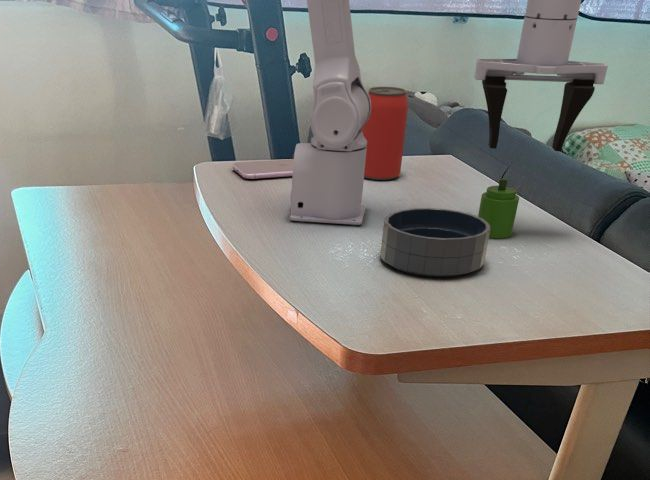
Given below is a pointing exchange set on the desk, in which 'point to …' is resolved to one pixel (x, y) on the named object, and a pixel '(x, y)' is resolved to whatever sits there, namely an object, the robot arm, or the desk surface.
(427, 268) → the bowl
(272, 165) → the mobile phone
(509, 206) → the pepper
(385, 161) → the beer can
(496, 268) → the desk surface
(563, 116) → the robot arm
